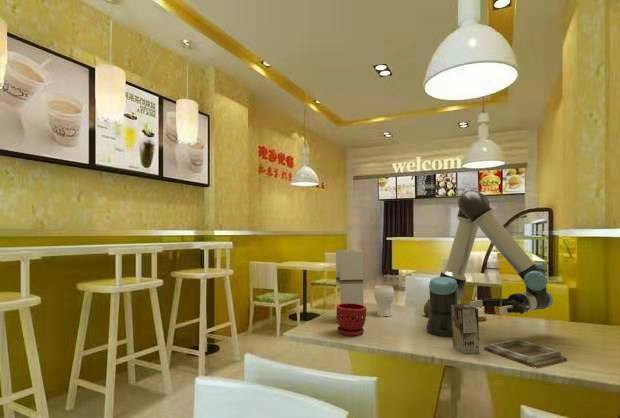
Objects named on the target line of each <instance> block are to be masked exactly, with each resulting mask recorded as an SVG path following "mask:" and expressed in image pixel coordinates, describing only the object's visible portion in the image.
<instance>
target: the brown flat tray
mask: <svg viewBox="0 0 620 418" xmlns="http://www.w3.org/2000/svg"><path fill="white" fill-rule="evenodd" d="M483 350H484V351H487V352H490V353H492V354H495V355H497V356H501V357H503V356H504V358H506V357H507V358H506V359H509V358H510V359H509V360H512V359H513V361H515V360H516V361H515V362H518V363H520V362H521V364H523V363H524V365H526V364H527V365H526V366H529V365H530V367H532V366H533V367H532V368H534V367H536V368H535V369H538V368H537V367H539V368H542V367H541V366H543V367H547V366H551V365H550V364H552V365H554V363H556V364H559V363H558V362H560V363H563V361H564V362H567V361H568V358H567V357H566V356H563V355H561V351H560V350H557V349H553V348H550V347H547V346H543V345H540V344H537V343H533V342H530V341H525V340H522V339H519V338H516V339H511V340H510V339H509V340H505V341H500V342H499V341H498V342H494V343H493V342H492V343H488V344H487V346H484V347H483ZM546 365H547V366H546Z"/></svg>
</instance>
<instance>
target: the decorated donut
mask: <svg viewBox="0 0 620 418" xmlns="http://www.w3.org/2000/svg"><path fill="white" fill-rule="evenodd" d="M486 318H487V314H486V313H485V312H483V311H480V310H478V322H482V321H483V322H484V321H485V320H486Z"/></svg>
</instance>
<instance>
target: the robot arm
mask: <svg viewBox="0 0 620 418" xmlns="http://www.w3.org/2000/svg"><path fill="white" fill-rule="evenodd" d="M457 206H458V213H457V217H456V218H457V219H458V225H457V229H456V232H455V235H454V238H453V242H452V245H451V248H450V252H449V256H448V259H447V263H446V266H445V269H442V270H440V275H439V276H437V277H433V278H431V279H430V280H429V286H428V289H429V290H428V291H429V299H430V316H429V317H428V320H427V324H426V332H427V333H429V334H431V335H434V336H437V337H438V336H439V337H448V338H450V337H451V338H453V334H452V308H451V305H456V304H459V303H458V301H460V300H461V299H462V298H463V296H464V294H465V286H466V282H467V277H466V276H465V273H466V270H467V266H468V263H469V260H470V257H471V253H472V250H473V247H474V244H475V241H476V240H475V239H476V236H477V233H478V229H480V231H482V233H483V235H485V236H486V237H487V238H488V239H489V241H490V242H491V244H492V245H493V246H494V247H495V248H496V249H497V250H498V252H499V254H501V256H502V257H503V258H504V259H505V261H507V263H508V264H509V266H511V267H512V269H513V270H514V272H515V273H516V274H517V275H518V276H519V278H520V279H521V280H522V281H523V284H524V285H525V292H519V293H512V294H510V295H509V296H508V297H507V298H505V297H504V298H499V297H497V298H496V297H495V298H477V299H476V300H470V301H469V306H472V307H475V308H477V309H479V308H481V309H482V308H483V307H498V309H499V310H498V313H499V315H500V316H502V315H508V314H513V313H514V314H520V315H523V314H524V313H529V312H532V311H536V310H544V309H548V308H551V306H553V302H554V298H553V296H552V295H551V293H550V292H549V291H547V284H548V278H547V276H546V268H545V266H546V265H545V264H544V263H540V262H534V261H533V260H532V258H531V257H530V256H529V255H528V254H527V253H526V251H525V250H523V248H522V247H521V246H520V245H519V243H518V242H517V241H516V240H515V239H514V237H513V236H512V235H511V234H510V233H509V232H508V230H507V229H506V227H504V225H502V223H501V222H500V220H498V218H497V217H496V216H495V215H494V214H493V209H492V208H491V206H490V201H489V198H488V197H487V195H485V194H483V193H482V192H480V191H479V190H475V189H470V190H469V189H468V190H466V191H464V192H463V193H461V195H460V196H459V197H458V200H457Z"/></svg>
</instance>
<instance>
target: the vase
mask: <svg viewBox="0 0 620 418" xmlns="http://www.w3.org/2000/svg"><path fill="white" fill-rule="evenodd" d="M423 313H424V316H426V317H427V318H429V316H430V298H429V299H427V301H426V302H425V303H424V305H423Z"/></svg>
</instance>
